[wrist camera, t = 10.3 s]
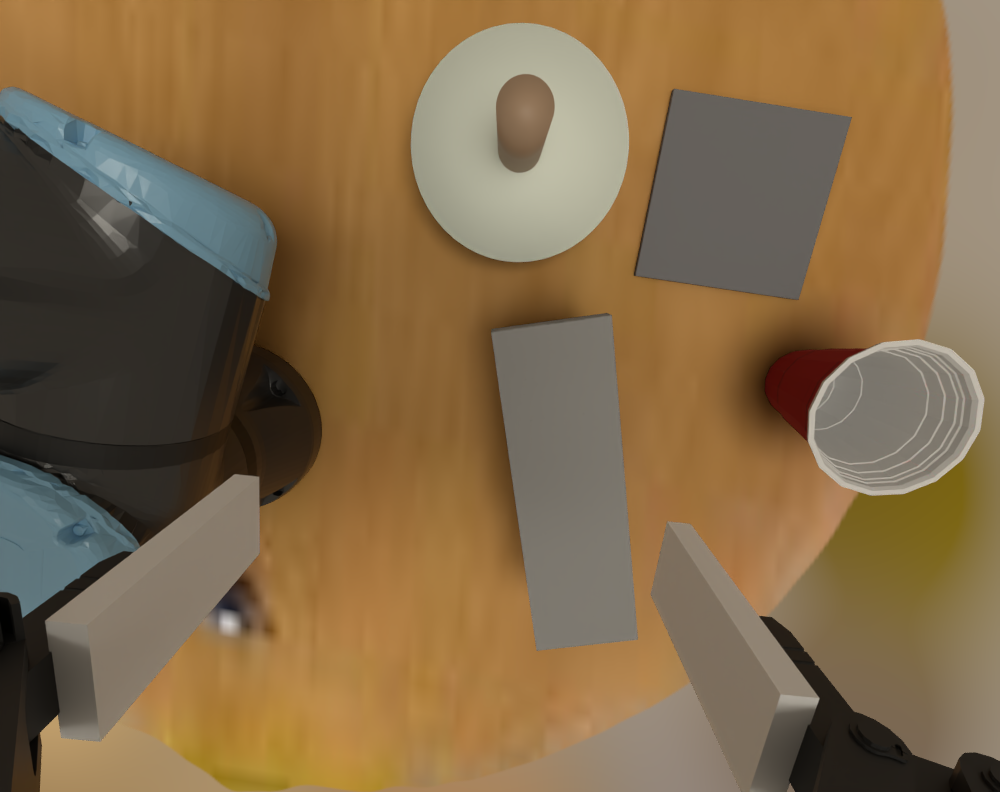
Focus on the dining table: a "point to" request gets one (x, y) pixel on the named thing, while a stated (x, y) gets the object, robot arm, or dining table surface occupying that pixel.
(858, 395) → the plastic cup
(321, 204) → the dining table surface
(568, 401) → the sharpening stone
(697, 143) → the mat
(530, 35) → the lid
